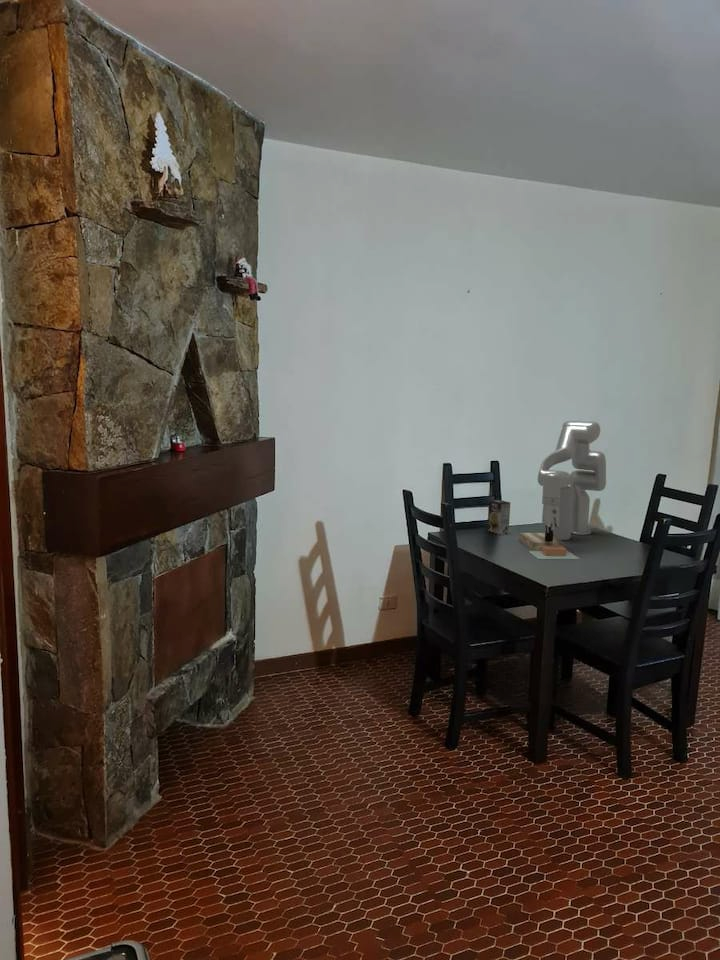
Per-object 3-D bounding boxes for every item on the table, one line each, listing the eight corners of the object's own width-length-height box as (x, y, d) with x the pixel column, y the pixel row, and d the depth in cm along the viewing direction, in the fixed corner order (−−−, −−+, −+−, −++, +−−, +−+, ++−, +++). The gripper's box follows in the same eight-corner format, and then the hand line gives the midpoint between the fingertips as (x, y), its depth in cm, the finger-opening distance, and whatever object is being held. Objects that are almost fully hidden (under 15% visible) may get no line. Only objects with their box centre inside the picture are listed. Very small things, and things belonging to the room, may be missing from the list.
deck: (548, 541, 334) (548, 532, 333) (562, 551, 314) (563, 542, 313) (519, 541, 333) (519, 532, 332) (532, 551, 313) (532, 542, 312)
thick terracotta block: (566, 549, 304) (566, 555, 304) (561, 545, 310) (561, 552, 310) (546, 549, 303) (546, 555, 303) (541, 545, 309) (541, 552, 309)
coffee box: (487, 531, 353) (488, 500, 351) (497, 530, 356) (498, 499, 354) (499, 535, 345) (500, 502, 343) (509, 533, 348) (510, 502, 346)
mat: (567, 551, 313) (567, 550, 313) (579, 559, 300) (579, 558, 300) (528, 551, 312) (528, 550, 312) (538, 559, 298) (538, 558, 298)
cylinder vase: (576, 539, 337) (579, 488, 334) (554, 541, 333) (557, 489, 329) (559, 534, 349) (562, 484, 345) (538, 536, 344) (541, 485, 341)
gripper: (565, 503, 302) (562, 545, 305) (553, 498, 317) (551, 537, 319) (548, 503, 302) (546, 545, 304) (537, 498, 316) (535, 537, 319)
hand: (548, 541), depth 312 cm, fingers closed
